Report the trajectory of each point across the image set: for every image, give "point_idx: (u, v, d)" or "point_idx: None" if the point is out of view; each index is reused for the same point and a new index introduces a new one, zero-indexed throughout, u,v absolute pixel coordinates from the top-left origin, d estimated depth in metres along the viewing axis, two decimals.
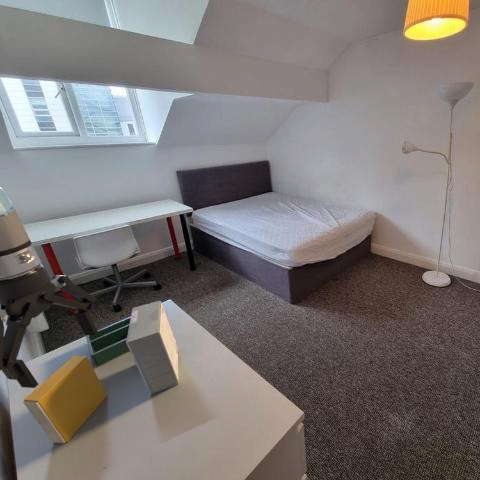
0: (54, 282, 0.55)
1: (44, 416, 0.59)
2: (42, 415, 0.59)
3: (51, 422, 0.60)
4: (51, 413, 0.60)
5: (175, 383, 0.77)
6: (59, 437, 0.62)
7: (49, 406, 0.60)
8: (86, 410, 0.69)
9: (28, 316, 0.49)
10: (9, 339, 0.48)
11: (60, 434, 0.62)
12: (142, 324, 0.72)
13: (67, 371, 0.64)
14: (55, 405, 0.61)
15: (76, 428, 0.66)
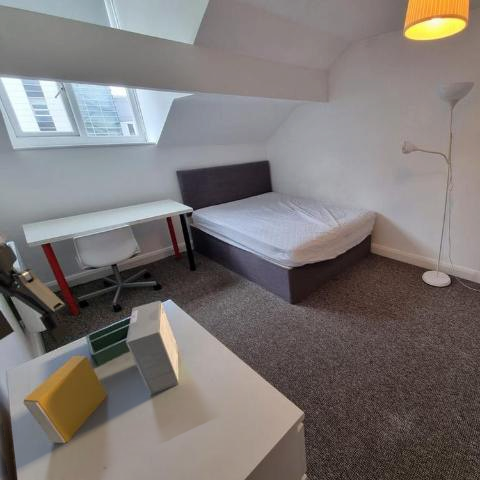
0: None
1: (44, 416, 0.59)
2: (42, 415, 0.59)
3: (51, 422, 0.60)
4: (51, 413, 0.60)
5: (175, 383, 0.77)
6: (59, 437, 0.62)
7: (49, 406, 0.60)
8: (86, 410, 0.69)
9: None
10: None
11: (60, 434, 0.62)
12: (142, 324, 0.72)
13: (67, 371, 0.64)
14: (55, 405, 0.61)
15: (76, 428, 0.66)
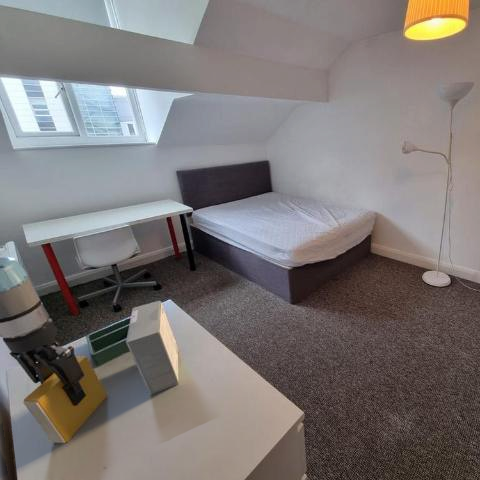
0: None
1: (44, 416, 0.59)
2: (42, 415, 0.59)
3: (51, 422, 0.60)
4: (51, 413, 0.60)
5: (175, 383, 0.77)
6: (59, 437, 0.62)
7: (49, 406, 0.60)
8: (86, 410, 0.69)
9: None
10: None
11: (60, 434, 0.62)
12: (142, 324, 0.72)
13: None
14: (55, 405, 0.61)
15: (76, 428, 0.66)
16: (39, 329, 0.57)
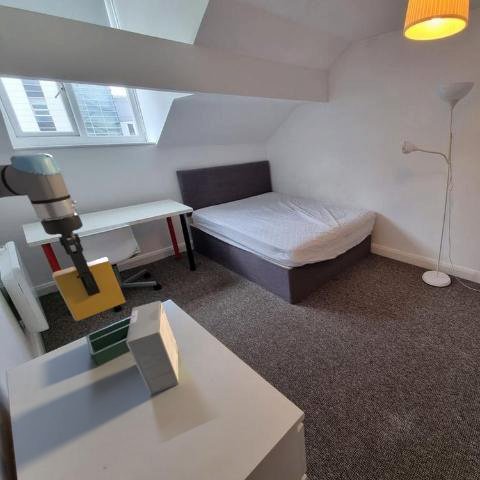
0: None
1: (60, 291, 0.73)
2: (59, 290, 0.73)
3: (64, 299, 0.74)
4: (65, 292, 0.73)
5: (175, 383, 0.77)
6: None
7: (64, 285, 0.73)
8: (101, 305, 0.80)
9: None
10: None
11: (72, 312, 0.76)
12: (142, 324, 0.72)
13: (88, 265, 0.76)
14: (70, 287, 0.74)
15: (88, 314, 0.78)
16: (58, 220, 0.67)
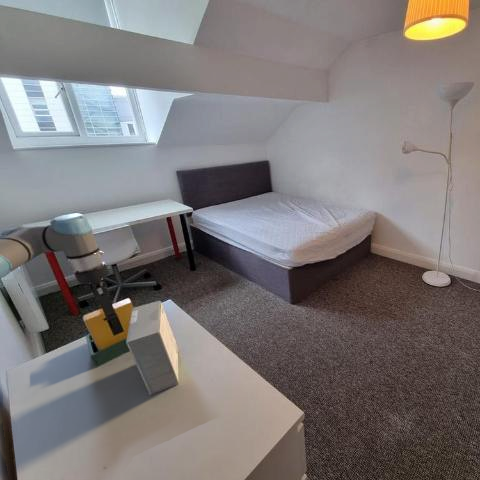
0: None
1: (89, 332, 0.82)
2: (89, 331, 0.82)
3: (93, 338, 0.83)
4: (94, 332, 0.83)
5: (175, 383, 0.77)
6: None
7: (93, 327, 0.82)
8: None
9: (107, 289, 0.81)
10: None
11: (99, 349, 0.85)
12: (142, 324, 0.72)
13: (114, 308, 0.85)
14: (98, 328, 0.83)
15: None
16: (89, 271, 0.76)
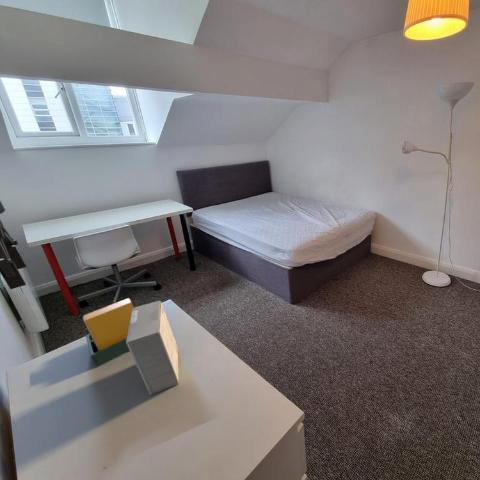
0: None
1: (89, 332, 0.82)
2: (89, 331, 0.82)
3: (93, 338, 0.83)
4: (94, 332, 0.83)
5: (175, 383, 0.77)
6: None
7: (93, 327, 0.82)
8: None
9: (2, 231, 0.65)
10: None
11: (99, 349, 0.85)
12: (142, 324, 0.72)
13: (114, 308, 0.85)
14: (98, 328, 0.83)
15: None
16: None
